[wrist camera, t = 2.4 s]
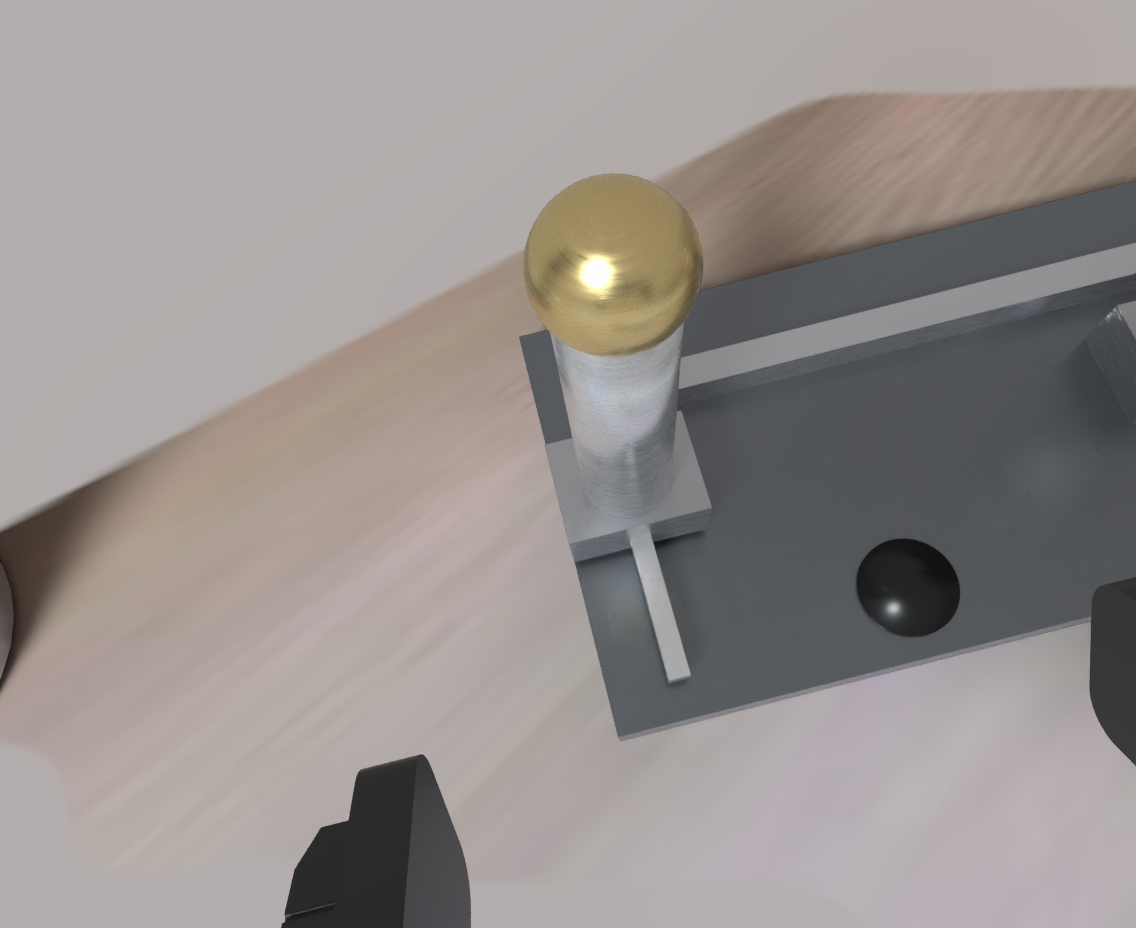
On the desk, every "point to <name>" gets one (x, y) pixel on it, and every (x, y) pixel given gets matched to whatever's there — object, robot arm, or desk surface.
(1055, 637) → the desk surface
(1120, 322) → the silver ball-topped post
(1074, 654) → the desk surface
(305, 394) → the desk surface
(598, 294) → the gold topped lever
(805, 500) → the plate
